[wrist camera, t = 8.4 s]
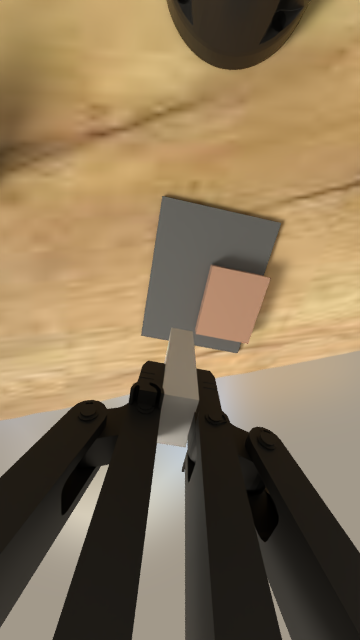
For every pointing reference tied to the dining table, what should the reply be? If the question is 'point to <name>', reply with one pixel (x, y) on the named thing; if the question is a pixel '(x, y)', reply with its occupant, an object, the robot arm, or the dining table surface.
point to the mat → (199, 263)
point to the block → (231, 303)
